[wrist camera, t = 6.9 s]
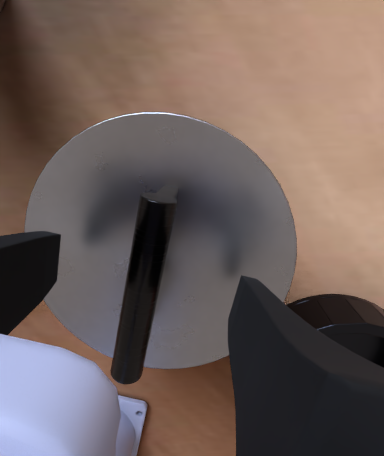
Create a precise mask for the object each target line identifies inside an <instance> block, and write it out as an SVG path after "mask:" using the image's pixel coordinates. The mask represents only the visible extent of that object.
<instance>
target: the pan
mask: <svg viewBox="0 0 384 456" xmlns="http://www.w3.org/2000/svg"><path fill="white" fill-rule="evenodd" d="M286 306H288V307H289V308H290V309H291V310H292V311H293V312H295V313H296V314H297V315H298V316H300V317H301V318H302V319H303V320H304V321H306V322H307V323H308V324H310V325H311V326H312V327H314V328H315V329H317V330H318V331H320V332H321V333H323V334H324V335H325V336H327V337H328V338H330V339H332V340H333V341H335V342H336V343H338V344H340V345H342V346H343V347H345V348H347V349H348V350H350V351H352V352H354V353H355V354H357V355H359V356H361V357H363V358H365V359H367V360H369V361H371V362H373V363H375V364H377V365H379V366H381V367H383V368H384V309H382V308H380V307H379V306H377V305H376V304H374V303H371V302H369V301H367V300H365V299H361V298H358V297H354V296H349V295H342V294H324V295H316V296H311V297H307V298H303V299H300V300H297V301H295V302H292V303H290V304H288V305H286Z"/></svg>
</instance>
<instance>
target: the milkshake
mask: <svg viewBox="0 0 384 456" xmlns="http://www.w3.org/2000/svg"><path fill="white" fill-rule="evenodd" d="M4 2H5V0H0V12H1V11H2V8H3V5H4Z"/></svg>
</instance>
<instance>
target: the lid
mask: <svg viewBox="0 0 384 456" xmlns="http://www.w3.org/2000/svg"><path fill="white" fill-rule="evenodd" d="M34 231H48V232H52V233H57V234H61V241H60V253H59V264H58V276H57V282H56V283H55V284H54V286H53V287H52V289H51V290H50V291H49V293H48V294H47V295H46V297H45V298H44V301H45V303H46V305H47V306H48V307H49V309H50V310H51V311H52V313H53V314H54V315H55V316H56V318H57V319H58V320H59V321H60V322H61V323H62V324H63V325H64V326H65V327H66V328H67V329H68V330H69V331H70V332H71V333H73V334H74V335H75V336H76V337H77V338H78V339H80V340H81V341H83V342H84V343H86V344H87V345H89V346H90V347H92V348H93V349H95V350H97V351H99V352H101V353H103V354H105V355H107V356H109V357H112V358H113V360H112V366H111V375H112V377H113V379H114V380H115V381H117V382H118V383H121V384H132V383H135V382H136V381H138V380H139V379H140V377H141V376H142V372H143V367H148V368H157V369H181V368H188V367H195V366H200V365H203V364H207V363H211V362H214V361H216V360H219V359H221V358H224V357H226V356H228V355H229V349H228V318H229V314H230V311H231V308H232V304H233V301H234V297H235V294H236V291H237V287H238V284H239V281H240V277H241V275H242V276H247V277H251V278H256V279H258V280H259V281H260V282H262V283H263V284H264V285H265V286H266V287H267V288H268V289H269V290H270V291H271V292H272V293H273V294H275V295H276V296H277V297H278V298H279V299H280V300H281V301H282V302H284V300H285V298H286V296H287V293H288V291H289V289H290V286H291V282H292V279H293V275H294V271H295V264H296V256H297V238H296V231H295V225H294V219H293V216H292V213H291V209H290V206H289V203H288V201H287V198H286V196H285V194H284V192H283V190H282V188H281V186H280V184H279V183H278V181H277V179H276V178H275V176H274V175H273V173H272V172H271V170H270V169H269V168H268V167H267V166H266V164H265V163H264V162H263V161H262V160H261V159H260V158H259V156H258V155H257V154H256V153H255V152H253V151H252V150H251V149H250V148H249V147H248V146H246V145H245V144H244V143H243V142H242V141H240V140H239V139H237V138H236V137H234V136H233V135H231V134H229V133H228V132H226V131H225V130H223V129H221V128H218V127H216V126H214V125H212V124H210V123H208V122H206V121H202V120H199V119H196V118H192V117H189V116H186V115H180V114H173V113H167V112H141V113H133V114H125V115H122V116H118V117H114V118H111V119H107V120H104V121H102V122H100V123H98V124H95V125H93V126H91V127H89V128H87V129H86V130H84V131H82V132H81V133H79V134H78V135H76V136H74V137H73V138H72V139H71V140H69V141H68V142H67V143H66V144H65V145H64V146H62V147H61V148H60V149H59V150H58V151H57V152H56V154H55V155H54V156H53V157H52V158H51V159H50V161H49V162H48V163H47V164H46V166H45V168H44V169H43V171H42V172H41V174H40V176H39V177H38V179H37V181H36V184H35V186H34V188H33V191H32V193H31V196H30V200H29V203H28V207H27V211H26V219H25V232H34Z"/></svg>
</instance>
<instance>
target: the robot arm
mask: <svg viewBox="0 0 384 456" xmlns="http://www.w3.org/2000/svg"><path fill="white" fill-rule="evenodd" d="M60 241H61V234H57V233H52V232H48V231H34V232H25V233H18V234H11V235H5V236H0V456H137V451H138V447H139V442H140V438H141V433H142V429H143V424H144V420H145V415H146V411H147V403H146V402H145V401H142V400H138V399H133V398H129V397H124V396H120V395H118V392H117V388H116V387H115V386H114V384H113V383H112V382H111V381H110V380H109V378H108V377H107V376H106V375H105V374H104V373H103V371H102V370H101V369H100V368H99V367H98V366H97V364H96V363H95V362H93V361H91V360H89V359H86V358H84V357H82V356H80V355H78V354H75V353H73V352H71V351H69V350H67V349H64V348H61V347H57V346H52V345H48V344H43V343H39V342H34V341H30V340H26V339H21V338H17V337H12V336H8V334H9V333H10V332H11V331H12V330H13V329H14V328H15V327H16V326H17V325H18V324H19V323H20V322H21V321H22V320H23V319H24V318H25V317H26V316H27V315H28V314H29V313H30V312H31V311H32V310H33V309H34V308H35V307H36V306H37V305H38V304H39V303H40V302H41V301H42V300H43V299H44V298H45V297H46V295H47V294H48V293H49V291H50V290H51V289H52V287H53V286H54V284H55V283H56V282H57V276H58V264H59V253H60ZM228 349H229V357H230V365H231V372H232V380H233V388H234V396H235V409H236V456H384V368H383V367H381V366H379V365H377V364H375V363H373V362H371V361H369V360H367V359H365V358H363V357H361V356H359V355H357V354H355V353H354V352H352V351H350V350H348V349H347V348H345V347H343V346H342V345H340V344H338V343H336V342H335V341H333V340H332V339H330V338H328V337H327V336H325V335H324V334H323V333H321V332H320V331H318V330H317V329H315V328H314V327H312V326H311V325H310V324H308V323H307V322H306V321H304V320H303V319H302V318H301V317H300V316H298V315H297V314H296V313H295V312H293V311H292V310H291V309H290V308H289V307H288V306H286V305H285V304H284V303H283V302H282V301H281V300H280V299H279V298H278V297H277V296H276V295H275V294H273V293H272V292H271V291H270V290H269V289H268V288H267V287H266V286H265V285H264V284H263V283H262V282H260V281H259V280H258V279H256V278H251V277H247V276H242V275H241V277H240V281H239V284H238V287H237V291H236V294H235V297H234V301H233V304H232V308H231V311H230V314H229V318H228ZM139 411H140V412H139Z"/></svg>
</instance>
